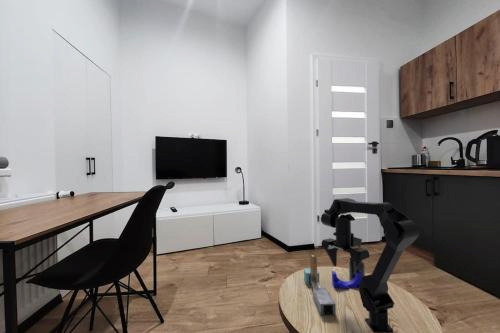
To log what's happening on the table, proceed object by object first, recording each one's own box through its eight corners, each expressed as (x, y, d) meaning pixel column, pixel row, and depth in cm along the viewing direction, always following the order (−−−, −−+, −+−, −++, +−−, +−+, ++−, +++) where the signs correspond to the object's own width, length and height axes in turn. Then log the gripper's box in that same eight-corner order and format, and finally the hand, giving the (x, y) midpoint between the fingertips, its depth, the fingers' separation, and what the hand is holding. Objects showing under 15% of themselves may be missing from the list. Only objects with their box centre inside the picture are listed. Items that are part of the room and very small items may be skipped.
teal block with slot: (319, 283, 112) (319, 273, 112) (306, 284, 112) (306, 273, 112) (316, 279, 117) (316, 268, 117) (304, 279, 117) (303, 268, 117)
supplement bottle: (346, 279, 116) (345, 254, 116) (357, 277, 118) (356, 252, 118) (357, 286, 109) (356, 259, 109) (368, 283, 112) (368, 256, 112)
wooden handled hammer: (325, 300, 97) (324, 266, 97) (317, 300, 97) (316, 266, 97) (314, 279, 115) (313, 251, 115) (308, 279, 115) (307, 251, 115)
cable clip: (334, 289, 108) (333, 275, 108) (332, 284, 112) (331, 271, 112) (362, 290, 106) (362, 276, 106) (359, 285, 110) (359, 272, 110)
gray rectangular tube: (335, 315, 88) (335, 303, 88) (320, 315, 88) (320, 304, 88) (326, 297, 100) (325, 287, 100) (313, 298, 100) (312, 287, 100)
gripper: (378, 232, 92) (379, 274, 92) (338, 223, 108) (339, 258, 108) (358, 237, 86) (359, 281, 86) (320, 226, 103) (321, 263, 103)
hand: (344, 270), depth 96 cm, fingers open, 9 cm apart
